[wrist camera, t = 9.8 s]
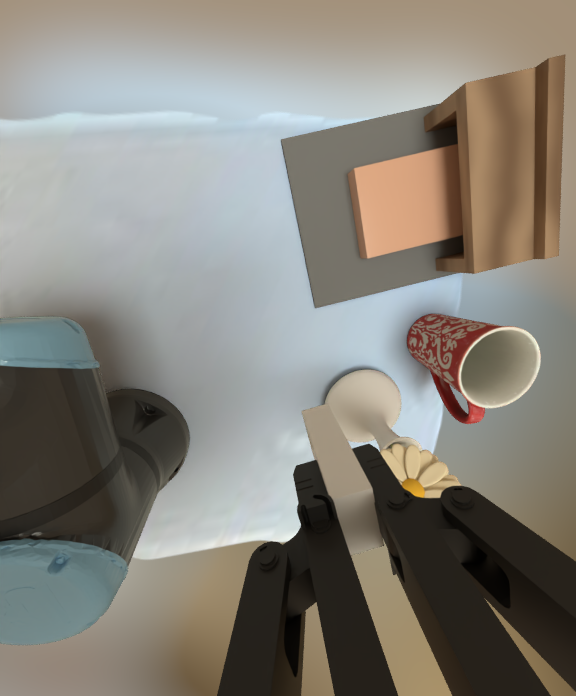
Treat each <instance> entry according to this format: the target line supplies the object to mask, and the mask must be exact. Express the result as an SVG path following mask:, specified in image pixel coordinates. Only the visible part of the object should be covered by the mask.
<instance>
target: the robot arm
mask: <svg viewBox="0 0 576 696" xmlns="http://www.w3.org/2000/svg"><path fill="white" fill-rule="evenodd" d="M98 367H100V364H99V362H98V361H96V360H95V358H94V355H93V352H92V350H91V347H90V344H89V341H88V338H87V336H86V333H85V331H84V329H83V328H82V327H81V326H80V325H79V324H78V323H77V322H75V321H73V320H71V319H69V318H65V317H58V316H37V317H12V318H0V643H1V644H9V645H38V644H45V643H51V642H56V641H60V640H63V639H66V638H69V637H72V636H74V635H77V634H79V633H80V632H82V631H84V630H85V629H87V628H89V627H90V626H91V625H93V624H94V623H95V622H96V621H97V620H98V619H99V618H100V617H101V616H102V615H103V614H104V613H105V612H106V611H107V609H108V608H109V606H110V605H111V602H112V601H113V599H114V597H115V595H116V593H117V591H118V589H119V587H120V586H121V584H122V582H123V580H124V579H125V578H126V575H127V572H128V565H129V563H130V561H131V558H132V556H133V553H134V551H135V548H136V546H137V543H138V541H139V538H140V536H141V533H142V531H143V528H144V526H145V523H146V521H147V518H148V516H149V513H150V511H151V508H152V506H153V503H154V501H155V498H156V496H157V493H158V492H159V491H160V490H161V489H162V488H163V487H164V486H165V485H166V484H167V483H168V482H169V481H170V480H171V479H172V478H173V477H174V476H175V475H176V474H177V473H178V471H179V470H180V468H181V467H182V465H183V463H184V460H185V458H186V455H187V452H188V448H189V442H190V437H189V430H188V426H187V424H186V421H185V419H184V418H183V416H182V415H181V413H180V412H179V411H178V409H177V408H176V407H175V406H174V405H172V404H171V403H170V402H169V401H167V400H166V399H164V398H162V397H160V396H158V395H156V394H154V393H151V392H147V391H143V390H136V389H124V390H117V391H113V392H110V393H107V394H106V392H105V389H104V385H103V382H102V379H101V375H100V372H99V368H98ZM302 415H303V419H304V422H305V426H306V430H307V434H308V437H309V441H310V445H311V449H312V452H313V455H314V459H315V460H314V461H311V462H307V463H304V464H300V465H297V466H296V467H295V470H294V474H293V476H294V481H295V487H296V491H297V497H298V502H299V504H298V506H297V513H298V516H299V519H300V523H301V528H300V529H299V531H298V533H297V534H296V535H295V536H294V537H293V538H292V539H291V540H289V541H288V542H286V543H285V544H283V545H282V544H280V543H279V542H272V541H271V542H267V543H264V544H262V545H261V546H259V547H258V548H257V549H256V550H255V551H254V553H253V554H252V556H251V558H250V560H249V564H248V569H247V573H246V577H245V581H244V585H243V589H242V594H241V598H240V602H239V606H238V611H237V615H236V619H235V623H234V628H233V631H232V635H231V640H230V644H229V648H228V652H227V657H226V661H225V665H224V669H223V673H222V677H221V682H220V686H219V690H218V694H217V696H301V687H302V669H303V650H304V632H305V614H306V612H305V610H306V609H308V608H309V607H310V606H312V605H313V604H314V603H315V602H317V606H318V611H319V617H320V622H321V627H322V632H323V637H324V642H325V647H326V653H327V658H328V663H329V668H330V673H331V678H332V683H333V689H334V694H335V696H398V694H397V691H396V688H395V685H394V682H393V679H392V676H391V673H390V670H389V667H388V664H387V661H386V658H385V655H384V652H383V650H382V646H381V644H380V641H379V638H378V635H377V632H376V629H375V626H374V623H373V620H372V617H371V614H370V611H369V608H368V605H367V602H366V599H365V596H364V593H363V591H362V587H361V584H360V581H359V579H358V576H357V573H356V570H355V567H354V564H353V561H352V558H351V556H352V555H355V554H359V553H362V552H365V551H368V550H371V549H375V548H378V547H382V546H384V543H383V539H384V541H385V544H386V546H387V548H388V552H389V557H390V562H391V567H392V572H393V575H395V574H397V576H398V578H399V580H400V582H401V584H402V586H403V589H404V591H405V593H406V595H407V597H408V600H409V602H410V604H411V606H412V608H413V611H414V613H415V615H416V617H417V619H418V621H419V624H420V626H421V628H422V630H423V632H424V635H425V637H426V639H427V641H428V643H429V645H430V647H431V650H432V652H433V654H434V656H435V659H436V661H437V663H438V665H439V667H440V670H441V672H442V674H443V676H444V678H445V680H446V683H447V685H448V687H449V689H450V691H451V694H452V696H551V695H550V694H549V692H548V691H547V689H546V688H545V687H544V685H543V684H542V682H541V681H540V679H539V678H538V676H537V675H536V673H535V672H534V670H533V669H532V668H531V666H530V665H529V663H528V662H527V660H526V659H525V657H524V656H523V654H522V653H521V651H520V650H519V648H518V647H517V645H516V644H515V643H514V641H513V640H512V638H511V637H510V635H509V634H508V632H507V631H506V630H505V628H504V626H503V625H502V624H501V622H500V621H499V619H498V618H497V616H496V615H495V613H494V612H493V610H492V609H491V607H490V606H489V604H488V603H487V601H488V602H489V603H490V604H491V605H492V606H493V607H494V608H495V609H496V610H497V611H498V612H499V613H500V614H501V615H502V616H503V617H504V618H505V620H506V621H508V623H509V624H510V625H511V626H512V627H513V628H514V629H515V630H516V631H517V632H518V633H519V634H520V635H521V636H522V637H523V638H524V639H525V640H526V641H527V642H528V643H529V644H530V645H531V646H532V647H533V648H534V649H535V650H536V651H537V652H538V653H539V655H541V657H542V658H543V659H544V660H545V661H546V662H547V663H548V664H549V665H550V666H551V667H552V668H553V669H554V670H555V671H556V672H557V673H558V674H559V675H560V676H561V677H562V678H563V679H564V680H565V681H566V682H567V683H568V684H569V685H570V686H571V687H572V688H573V689H574V690H575V691H576V561H574V560H573V559H571V558H570V557H569V556H567V555H565V554H564V553H563V552H561V551H560V550H559V549H557V548H556V547H554V546H553V545H552V544H550V543H549V542H547V541H546V540H545V539H543V538H542V537H540V536H539V535H537V534H536V533H534V532H533V531H532V530H530V529H529V528H528V527H526V526H525V525H523V524H522V523H520V522H519V521H518V520H516V519H515V518H513V517H512V516H511V515H509V514H508V513H506V512H505V511H503V510H502V509H501V508H499V507H498V506H496V505H495V504H493V503H492V502H491V501H489V500H488V499H486V498H485V497H483V496H482V495H481V494H479V493H478V492H476V491H474V490H472V489H471V488H468V487H464V486H451V487H448V488H446V489H445V490H443V491H442V493H441V496H440V498H422V497H418V496H414V495H413V494H412V493H411V492H410V491H408V490H406V489H404V488H403V487H402V485H401V484H400V482H399V481H398V479H397V478H396V476H395V475H394V473H393V472H392V470H391V469H390V467H389V466H388V464H387V463H386V461H385V459H384V458H383V456H382V455H381V453H380V452H379V450H378V449H377V448H375V447H373V446H372V445H370V444H367V445H363V446H360V447H356V448H353V449H351V447H350V445H349V443H348V441H347V439H346V437H345V435H344V433H343V432H342V430H341V428H340V426H339V424H338V422H337V420H336V418H335V416H334V414H333V413H332V411H331V409H330V407H329V405H328V404H325V405H321V406H318V407H314V408H311V409H307V410H304V411H302ZM484 598H485V599H486V600H487V601H486V600H485V599H484Z"/></svg>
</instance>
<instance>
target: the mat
mask: <svg viewBox="0 0 576 696" xmlns="http://www.w3.org/2000/svg"><path fill="white" fill-rule="evenodd" d="M438 105H439V104H436V105H432V106H427V107H423V108H419V109H415V110H410V111H406V112H401V113H397V114H392V115H388V116H383V117H379V118H374V119H370V120H365V121H361V122H357V123H352V124H348V125H343V126H339V127H334V128H330V129H326V130H321V131H317V132H312V133H308V134H304V135H299V136H295V137H290V138H286V139H281V142H282V147H283V152H284V157H285V162H286V167H287V172H288V177H289V182H290V187H291V191H292V196H293V201H294V206H295V211H296V216H297V221H298V226H299V231H300V236H301V241H302V246H303V250H304V255H305V260H306V265H307V270H308V275H309V280H310V285H311V290H312V295H313V300H314V305H315V308H318V307H322V306H327V305H331V304H335V303H339V302H343V301H347V300H351V299H355V298H359V297H363V296H367V295H371V294H375V293H379V292H383V291H387V290H391V289H395V288H399V287H403V286H407V285H412V284H416V283H420V282H424V281H428V280H432V279H436V278H440V277H444V276H448V275H452V274H456V273H459V272H445V271H436V261H435V259H436V258H441V257H445V256H449V255H453V254H457V253H461V252H464V243H463V235H461V236H457V237H453V238H449V239H445V240H441V241H437V242H433V243H428V244H424V245H420V246H416V247H412V248H408V249H404V250H400V251H396V252H392V253H388V254H384V255H380V256H376V257H372V258H368V259H365V258H360V252H359V245H358V239H357V232H356V226H355V219H354V213H353V207H352V200H351V194H350V187H349V181H348V173H349V172H351V171H352V170H353V169H354V168H358V167H362V166H366V165H370V164H374V163H379V162H383V161H387V160H391V159H396V158H400V157H404V156H408V155H413V154H417V153H421V152H425V151H430V150H434V149H438V148H442V147H447V146H451V145H455V144H458V133H457V126H452V127H448V128H444V129H439V130H435V131H431V132H426V133H425V127H424V117H425V116H426V115H427V114H428V113H430V112H431V111H432V110H433V109H434V108H436V107H437V106H438Z"/></svg>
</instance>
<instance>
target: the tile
mask: <svg viewBox="0 0 576 696" xmlns="http://www.w3.org/2000/svg"><path fill="white" fill-rule="evenodd" d="M348 181H349V187H350V194H351V200H352V207H353V213H354V219H355V226H356V232H357V239H358V245H359V252H360V258H365V259H368V258H372V257H376V256H380V255H384V254H388V253H392V252H396V251H400V250H404V249H408V248H412V247H416V246H420V245H424V244H428V243H433V242H437V241H441V240H445V239H449V238H453V237H457V236H461V235H463V224H462V206H461V188H460V170H459V152H458V144H455V145H451V146H447V147H442V148H438V149H434V150H430V151H425V152H421V153H417V154H413V155H408V156H404V157H400V158H396V159H391V160H387V161H383V162H379V163H374V164H370V165H366V166H362V167H358V168H354V169H353V170H352V171H351V172H349V173H348Z"/></svg>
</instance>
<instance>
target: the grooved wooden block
mask: <svg viewBox="0 0 576 696" xmlns="http://www.w3.org/2000/svg"><path fill="white" fill-rule="evenodd" d="M564 77H565V55H562V56H557V57H552V58H549V59H547V60H545V61H544V62H542V63H541V64H540V65H538V66H537V67H534V68H530V69H525V70H521V71H516V72H512V73H507V74H503V75H498V76H494V77H489V78H485V79H481V80H476V81H472V82H467V83H465V84H464V85H463V86H461V87H460V88H459V89H458V90H456V91H455V92H454V93H453V94H451V95H450V96H449V97H448V98H447V99H445V100H444V101H443V102H442V103H441V104H439V105H438V106H437V107H436V108H434V109H433V110H432V111H431V112H430V113H428V114H427V115H426V116H425V117H424V127H425V133H426V132H431V131H435V130H439V129H444V128H448V127H452V126H457V133H458V152H459V170H460V188H461V206H462V224H463V243H464V252H461V253H457V254H453V255H449V256H445V257H441V258H436V259H435V261H436V271H445V272H459V273H472V274H475V273H479V272H483V271H487V270H491V269H495V268H499V267H503V266H507V265H511V264H515V263H520V262H523V261H527V260H532V259H547V258H551V257H555V256H558V255H559V230H560V199H561V170H562V169H561V168H562V139H563V110H564V79H565V78H564Z"/></svg>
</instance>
